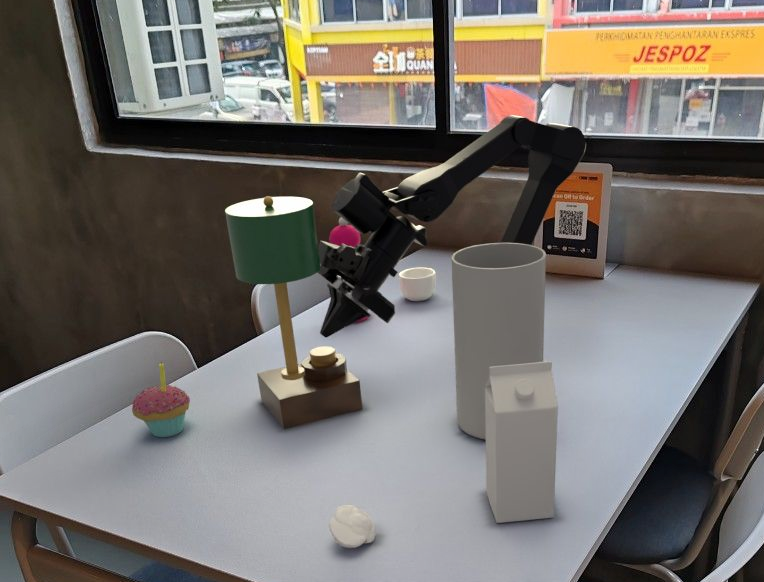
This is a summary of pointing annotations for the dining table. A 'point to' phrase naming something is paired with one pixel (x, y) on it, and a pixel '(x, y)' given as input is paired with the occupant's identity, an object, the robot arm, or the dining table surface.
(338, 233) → the pepper mill
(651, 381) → the dining table surface
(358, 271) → the robot arm
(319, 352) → the button
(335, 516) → the dumpling
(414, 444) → the dining table surface
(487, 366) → the cylinder vase
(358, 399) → the lamp base
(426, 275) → the teacup
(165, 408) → the cupcake
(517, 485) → the milk carton
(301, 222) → the desk lamp
